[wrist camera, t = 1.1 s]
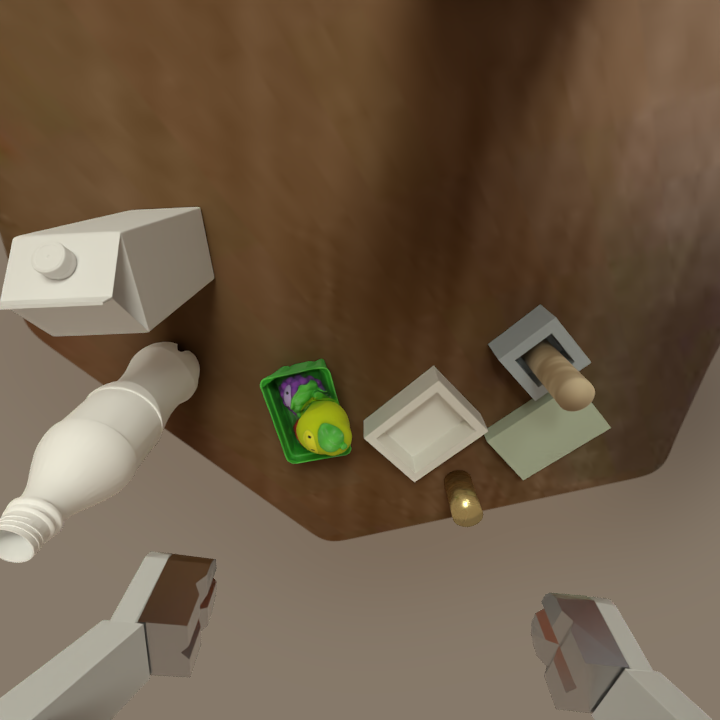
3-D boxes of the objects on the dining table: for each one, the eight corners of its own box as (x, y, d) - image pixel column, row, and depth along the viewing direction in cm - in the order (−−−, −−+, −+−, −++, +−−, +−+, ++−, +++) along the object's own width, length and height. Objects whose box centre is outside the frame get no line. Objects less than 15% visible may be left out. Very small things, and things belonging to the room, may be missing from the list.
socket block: (540, 304, 44) (555, 317, 41) (573, 346, 47) (591, 362, 43) (488, 344, 47) (498, 359, 43) (522, 383, 49) (535, 401, 45)
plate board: (567, 372, 49) (576, 383, 46) (600, 416, 51) (611, 427, 49) (481, 429, 52) (486, 441, 50) (516, 467, 55) (523, 480, 53)
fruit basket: (266, 358, 48) (240, 413, 38) (342, 343, 47) (336, 395, 37) (294, 438, 52) (278, 506, 42) (363, 426, 52) (363, 492, 41)
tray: (433, 365, 48) (438, 380, 45) (480, 413, 51) (488, 431, 47) (363, 420, 51) (363, 438, 48) (411, 462, 54) (414, 482, 51)
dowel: (538, 329, 45) (582, 373, 36) (554, 349, 46) (601, 396, 37) (513, 348, 46) (550, 395, 37) (529, 367, 47) (569, 417, 38)
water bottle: (130, 346, 47) (-82, 519, 25) (187, 326, 46) (18, 489, 23) (164, 398, 50) (1, 594, 27) (217, 380, 49) (93, 571, 26)
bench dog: (460, 465, 54) (470, 499, 49) (476, 481, 55) (489, 516, 50) (438, 480, 55) (446, 515, 50) (455, 495, 56) (464, 531, 51)
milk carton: (215, 278, 44) (120, 356, 26) (148, 281, 44) (11, 361, 27) (201, 206, 40) (82, 242, 23) (129, 210, 41) (-41, 248, 24)
